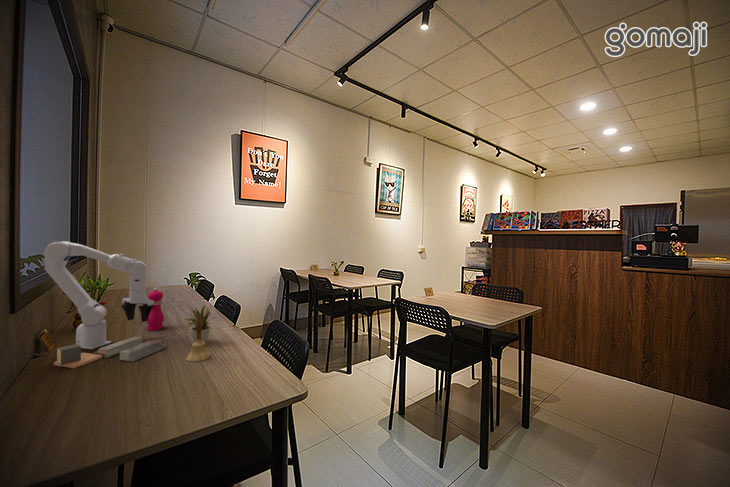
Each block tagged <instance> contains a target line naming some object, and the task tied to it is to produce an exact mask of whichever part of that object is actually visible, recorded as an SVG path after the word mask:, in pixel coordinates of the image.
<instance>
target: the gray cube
mask: <svg viewBox="0 0 730 487" xmlns="http://www.w3.org/2000/svg"><path fill="white" fill-rule="evenodd" d="M81 350H82V348H81V346H80V345H78V344H76V343H74V344H70V345H65V346H59V347H57V349H56V361H57V362H58V363H59V364H61V365H63V364H67V363H71V362H75V361H79V360H81V353H82V351H81Z"/></svg>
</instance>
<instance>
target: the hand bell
mask: <svg viewBox="0 0 730 487" xmlns="http://www.w3.org/2000/svg"><path fill="white" fill-rule="evenodd" d="M195 319H196V318H195ZM194 327H195V328H196V332H197V336H196V337H197V338H196V342H195V343H194V342H193V343H192V344H191V350H190V353H189V354H188V355H187V356H186V357H185V360H186V361H187V362H192V363H193V362H194V363H195V362H202V361H206V360H208V359H209V358H210V357H212V354H211V352H209V351H208V349H207V345H206V343H205V342H203V341H201V331H202V327H203V320H202V317H201V314H200V315H199V316H197V319H196V322H195V324H194Z"/></svg>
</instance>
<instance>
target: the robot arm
mask: <svg viewBox="0 0 730 487" xmlns="http://www.w3.org/2000/svg"><path fill="white" fill-rule="evenodd" d="M42 255H43V257H44V271H45V272H46V273H47V274H48V275H49V276H50V278H52V280H53V281H54V282H55V283H56V285H57V286H58V287H59V288H60V289H61V290H62V291H63V293H64V294H65V295H66V296H67V297H68V299H70V301H72V304H74V305H75V306H76V308H77V313H78V314H79V315H80V318H81V322H82V323H80V325H78V326H77V328H76V330H75V344H78V345H80V346H81V349H88V350H93V349H94V350H95V349H97V348H101V347H104V346H107V345H110V344H111V343H112V344H113V341H111V340H107V320H106V319H105V317H106V316H107V314H108V309H107V308H106V306H104V305H101V304H100V303H99V302H98V301H97V300H94V299H93V298H92V297H91V296H90V295H89V294H88V292H87V291H86V290H85V289H84V288H83V286H82V285H81V284H80V283H79V282H78V281H77V279H76V278H75V277H74V276H73V275H72V273H71V272H70V271H69V270H68V268H66V266H67V263H68V261H69V259H70V258H71V257H78V256H80V257H81V256H83V257H87V258H90V259H93V260H94V259H95V260H97V261H101V262H104V263H106V264H107V266H108V268H109V267H110V268H112V269H116V270H120V271H122V272H125V273H127V272H128V274H129V296H128V297H124V298H122V301H121V302H122V304H121V305H120V306H121V307H120V308H122V310H123V311H124V313H125V315H126V318H127V321H133V320H134V319H135V311H136V306H137V305H139V306H138V309H139V312H140V318H141V322H142V323H145V322H146V321H148V318H149V314H150V312H151V310H152V308H153V307H154V304H153V300H150V299H148V297H147V278H146V277H147V274H146V271H147V265H146V263H145V262H143V261H142V260H137V259H136V258H130V257H126V256H124V254H123V253H119V254H118V253H114V254H108V253H105V252H102V251H100V250H98V249H95V248H92V247H89V246H86V245H84V244H80V243H75V242H71V241H67V240H63V241H54V242H53V241H52V242H50V243H49V244H47V246H46V248H44V251H43V254H42Z"/></svg>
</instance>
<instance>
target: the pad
mask: <svg viewBox="0 0 730 487" xmlns="http://www.w3.org/2000/svg"><path fill="white" fill-rule="evenodd" d="M102 358H103V357H102V355H97V354H94V353H90V352H81V360H79V361H75V362H71V363H67V364H63V365H61V364H59V363H58V362H57V360H56V361H54V362H53V365H54V366H58V367H65V368H70V369H76V368H78V367H81V366H85V365H87V364H90V363H92V362H94V361H98V360H100V359H102Z"/></svg>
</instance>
